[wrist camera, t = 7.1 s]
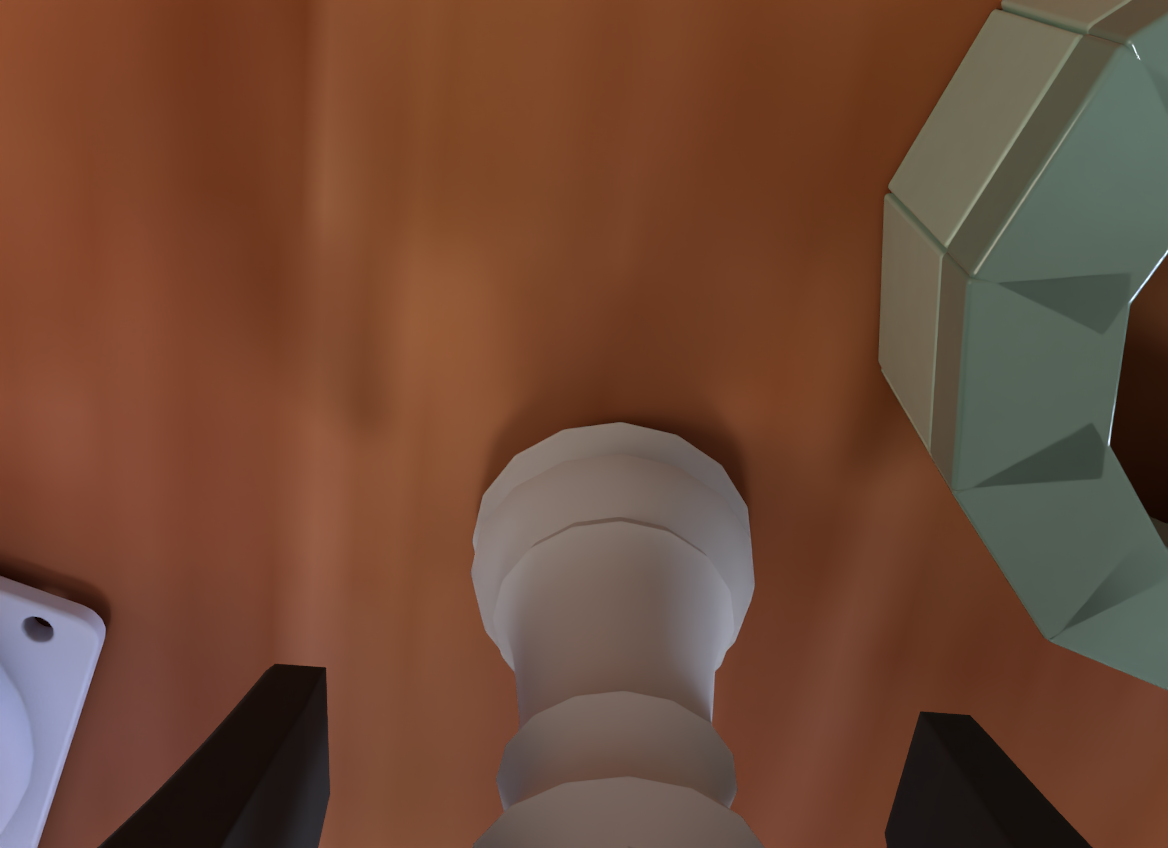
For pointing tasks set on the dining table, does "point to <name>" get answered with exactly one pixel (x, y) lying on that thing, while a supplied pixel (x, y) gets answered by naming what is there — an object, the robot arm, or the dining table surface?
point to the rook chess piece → (614, 639)
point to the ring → (1039, 307)
